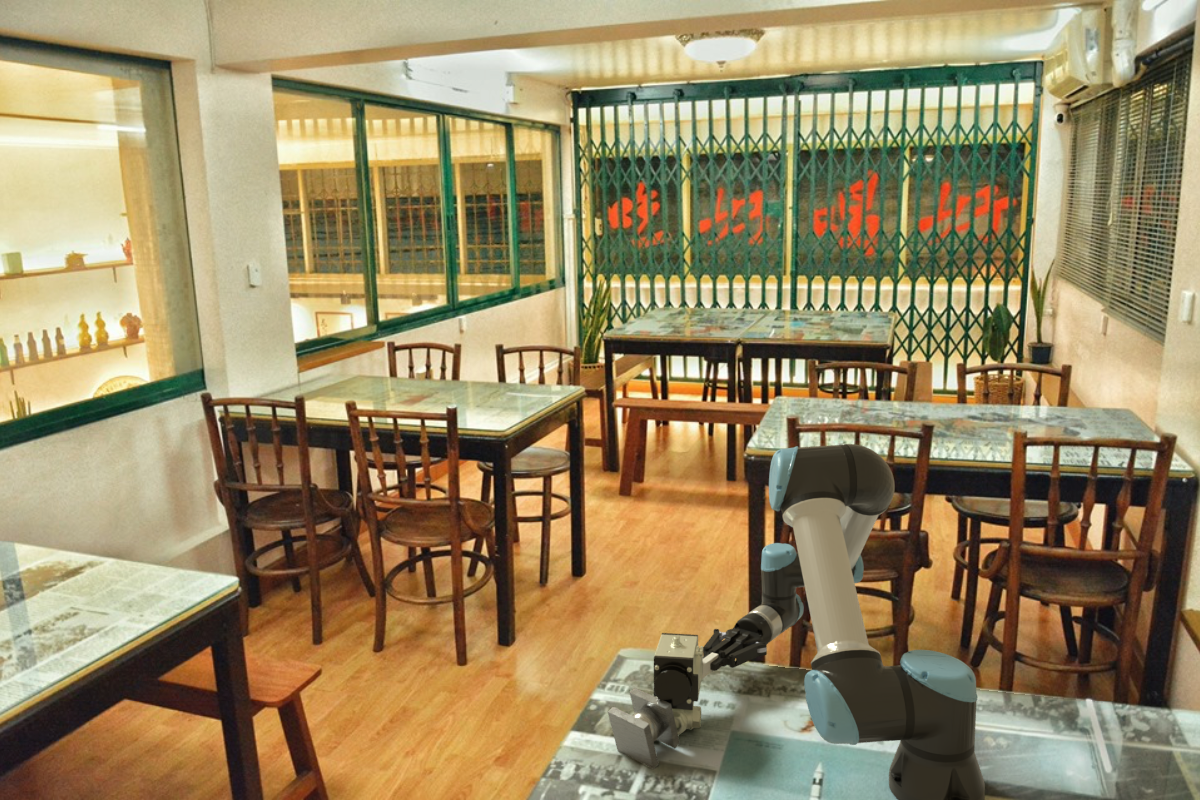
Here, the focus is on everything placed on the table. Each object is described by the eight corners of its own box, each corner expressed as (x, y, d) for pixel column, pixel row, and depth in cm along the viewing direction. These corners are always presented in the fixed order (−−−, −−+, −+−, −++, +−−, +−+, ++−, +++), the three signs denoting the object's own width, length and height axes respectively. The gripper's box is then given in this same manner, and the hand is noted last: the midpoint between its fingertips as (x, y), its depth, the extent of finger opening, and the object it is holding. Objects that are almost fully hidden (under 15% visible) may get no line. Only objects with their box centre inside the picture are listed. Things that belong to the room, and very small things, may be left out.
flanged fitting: (680, 743, 170) (671, 703, 167) (653, 769, 165) (643, 728, 162) (644, 726, 176) (634, 687, 173) (617, 750, 172) (607, 711, 169)
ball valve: (698, 750, 168) (699, 655, 167) (652, 747, 169) (652, 652, 168) (705, 709, 186) (705, 623, 184) (662, 706, 187) (662, 620, 186)
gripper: (784, 652, 198) (726, 698, 180) (731, 637, 206) (671, 680, 188) (784, 619, 196) (726, 663, 179) (731, 606, 205) (670, 646, 187)
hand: (698, 672), depth 183 cm, fingers closed
